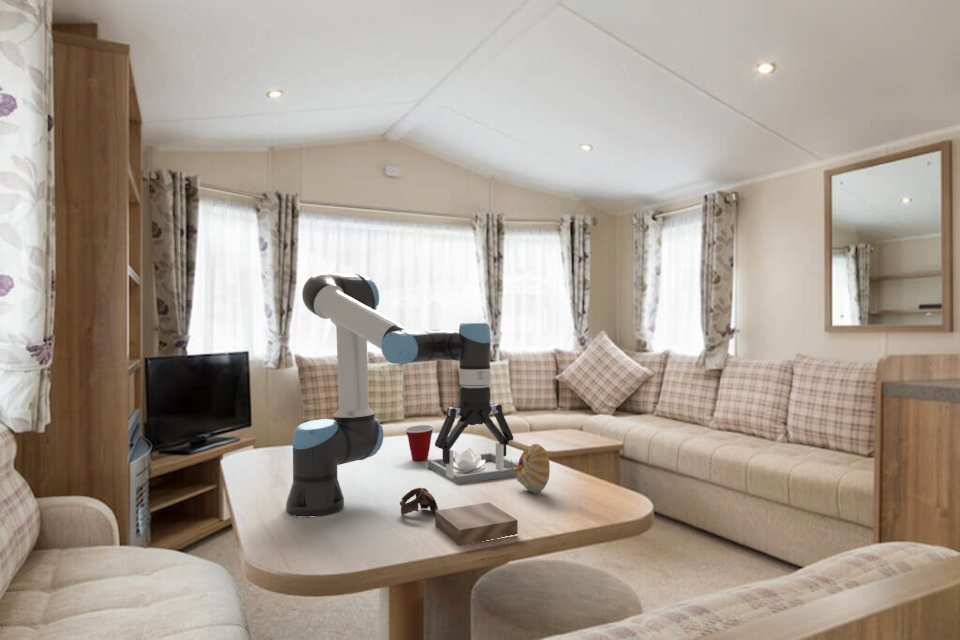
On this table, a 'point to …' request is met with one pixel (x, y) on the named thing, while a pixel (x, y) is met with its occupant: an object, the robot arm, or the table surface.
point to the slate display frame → (475, 473)
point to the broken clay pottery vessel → (418, 501)
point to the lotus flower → (468, 463)
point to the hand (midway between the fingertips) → (475, 473)
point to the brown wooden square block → (475, 523)
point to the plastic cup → (419, 441)
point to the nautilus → (533, 468)
